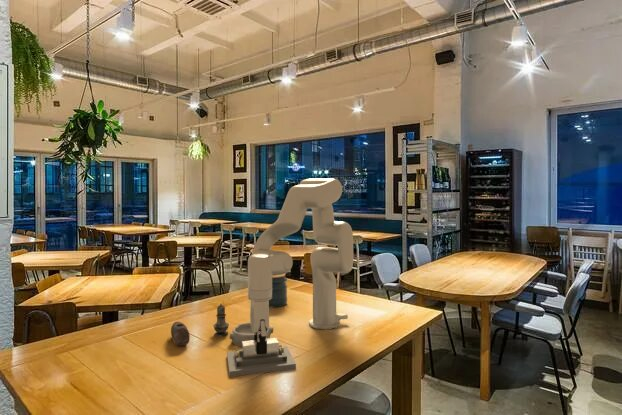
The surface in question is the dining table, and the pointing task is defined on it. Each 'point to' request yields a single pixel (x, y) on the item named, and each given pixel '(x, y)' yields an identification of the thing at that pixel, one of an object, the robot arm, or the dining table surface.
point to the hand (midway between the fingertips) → (260, 349)
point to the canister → (278, 291)
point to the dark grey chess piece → (221, 322)
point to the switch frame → (259, 363)
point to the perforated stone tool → (180, 334)
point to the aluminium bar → (250, 349)
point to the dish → (245, 334)
